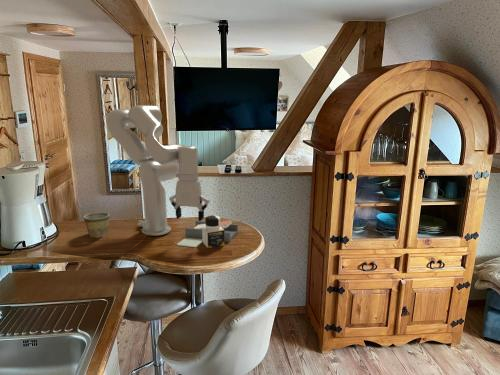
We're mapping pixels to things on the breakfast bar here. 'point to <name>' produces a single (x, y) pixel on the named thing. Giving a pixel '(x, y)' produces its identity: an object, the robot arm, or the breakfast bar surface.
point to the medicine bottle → (212, 232)
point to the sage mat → (190, 242)
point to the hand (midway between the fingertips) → (189, 218)
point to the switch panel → (197, 233)
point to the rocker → (222, 225)
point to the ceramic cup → (97, 224)
